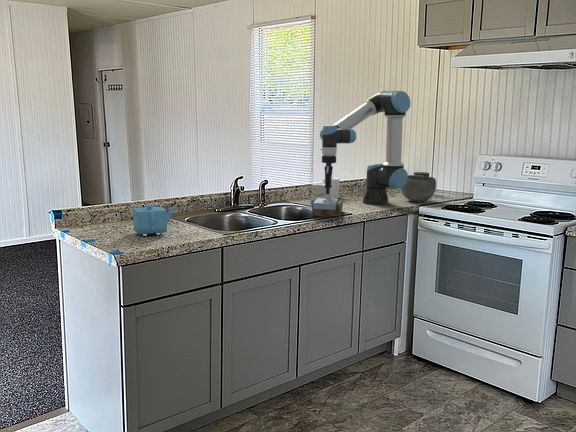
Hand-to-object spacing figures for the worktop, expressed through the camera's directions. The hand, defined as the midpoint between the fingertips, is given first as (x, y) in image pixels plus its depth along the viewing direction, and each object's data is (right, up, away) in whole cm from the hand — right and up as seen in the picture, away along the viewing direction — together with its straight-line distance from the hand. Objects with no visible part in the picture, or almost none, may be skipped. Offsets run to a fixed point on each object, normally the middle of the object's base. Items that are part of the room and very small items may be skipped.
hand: (327, 199), depth 298 cm
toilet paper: (+6, +3, +54) cm, 55 cm away
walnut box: (0, -7, 0) cm, 7 cm away
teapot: (-78, -17, -53) cm, 96 cm away
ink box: (-3, -2, +30) cm, 30 cm away
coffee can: (+66, +6, +74) cm, 99 cm away
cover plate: (-1, -4, -8) cm, 9 cm away
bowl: (+58, 0, +44) cm, 73 cm away
